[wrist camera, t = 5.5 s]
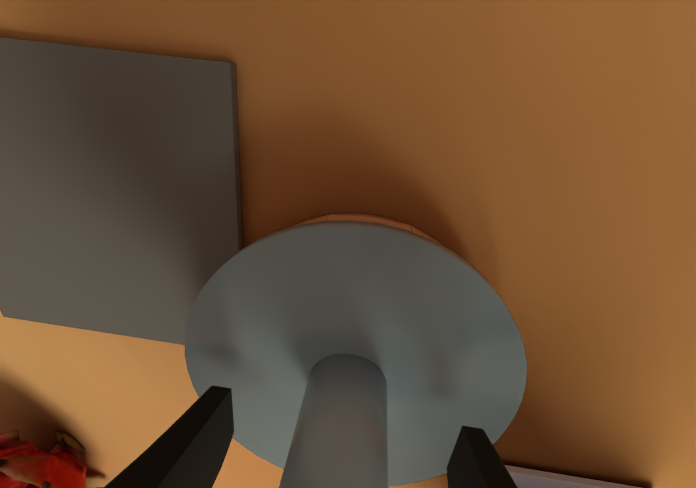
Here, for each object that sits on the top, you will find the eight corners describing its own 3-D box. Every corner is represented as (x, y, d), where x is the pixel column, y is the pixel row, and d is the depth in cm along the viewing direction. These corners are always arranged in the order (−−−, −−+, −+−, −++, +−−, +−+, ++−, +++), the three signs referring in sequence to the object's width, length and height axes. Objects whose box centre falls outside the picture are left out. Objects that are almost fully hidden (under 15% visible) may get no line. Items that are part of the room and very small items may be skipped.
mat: (235, 63, 10) (230, 62, 10) (246, 347, 15) (243, 353, 15) (-105, 26, 11) (-122, 23, 11) (12, 311, 16) (3, 316, 16)
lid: (563, 229, 9) (720, 341, 5) (484, 486, 14) (527, 651, 10) (161, 211, 10) (3, 289, 6) (219, 456, 15) (156, 594, 11)
